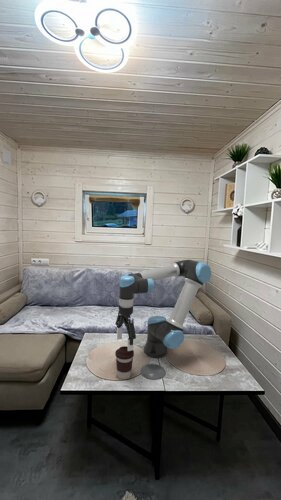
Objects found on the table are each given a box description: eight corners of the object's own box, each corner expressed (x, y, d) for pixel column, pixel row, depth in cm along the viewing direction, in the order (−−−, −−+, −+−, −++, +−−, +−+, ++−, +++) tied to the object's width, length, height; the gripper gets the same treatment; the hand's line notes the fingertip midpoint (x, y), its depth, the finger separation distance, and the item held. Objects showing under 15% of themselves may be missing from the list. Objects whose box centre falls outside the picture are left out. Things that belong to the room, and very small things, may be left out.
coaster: (136, 368, 142) (136, 367, 142) (156, 362, 149) (156, 361, 149) (148, 382, 130) (148, 381, 130) (170, 375, 136) (170, 374, 136)
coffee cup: (124, 383, 128) (124, 356, 126) (110, 375, 134) (111, 349, 133) (136, 375, 135) (137, 349, 134) (123, 368, 142) (124, 342, 140)
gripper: (110, 299, 140) (109, 336, 142) (130, 314, 118) (128, 357, 120) (122, 298, 143) (121, 333, 146) (144, 312, 122) (142, 354, 124)
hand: (124, 344), depth 133 cm, fingers open, 13 cm apart
